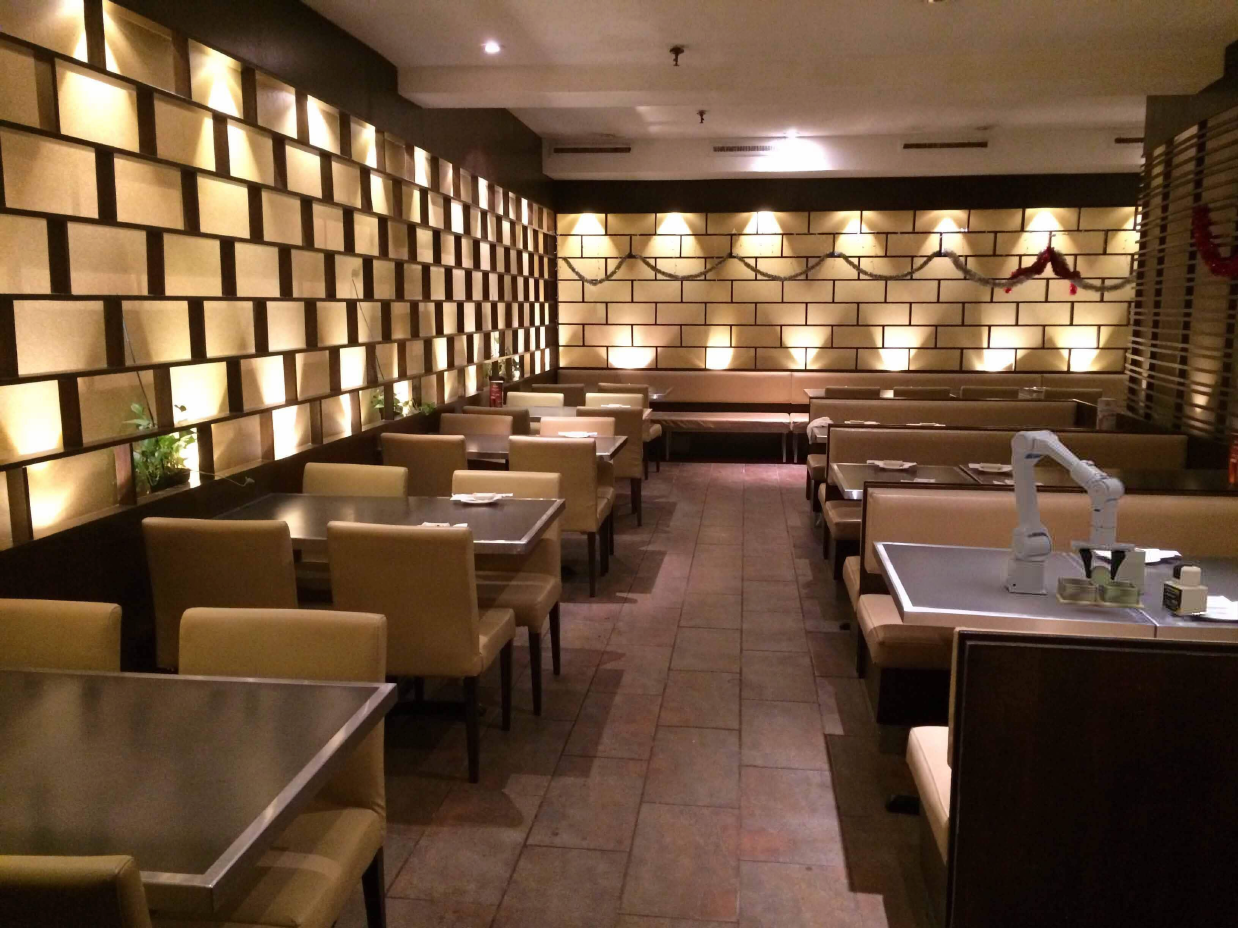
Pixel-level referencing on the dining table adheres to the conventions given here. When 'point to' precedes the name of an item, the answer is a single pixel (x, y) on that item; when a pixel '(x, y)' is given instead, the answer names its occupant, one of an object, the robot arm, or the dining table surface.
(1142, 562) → the skincare box
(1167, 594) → the medicine bottle
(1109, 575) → the sage ball
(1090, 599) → the sorting board
